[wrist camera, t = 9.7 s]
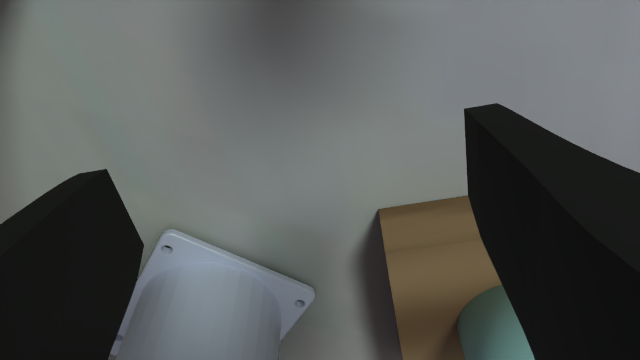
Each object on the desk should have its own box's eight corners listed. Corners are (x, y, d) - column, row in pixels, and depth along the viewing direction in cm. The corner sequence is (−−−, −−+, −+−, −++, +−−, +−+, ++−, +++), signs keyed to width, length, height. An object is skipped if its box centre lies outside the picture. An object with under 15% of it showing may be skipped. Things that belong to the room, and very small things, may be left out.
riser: (589, 329, 28) (615, 377, 26) (402, 352, 29) (409, 401, 27) (608, 174, 23) (644, 216, 20) (378, 209, 24) (385, 253, 21)
